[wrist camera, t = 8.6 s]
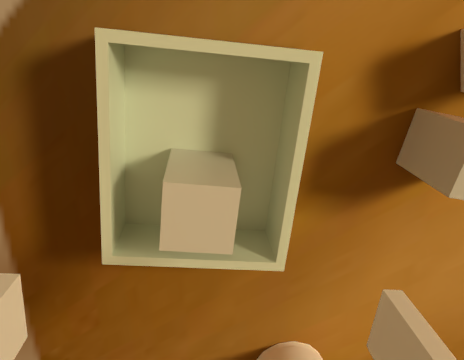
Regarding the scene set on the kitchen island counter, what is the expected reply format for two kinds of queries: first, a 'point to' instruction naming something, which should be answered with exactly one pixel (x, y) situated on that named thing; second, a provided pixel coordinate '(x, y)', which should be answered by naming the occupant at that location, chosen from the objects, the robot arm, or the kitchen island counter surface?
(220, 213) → the stone
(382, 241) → the kitchen island counter surface
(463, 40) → the stone
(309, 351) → the foam cup
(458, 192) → the stone
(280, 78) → the bin
